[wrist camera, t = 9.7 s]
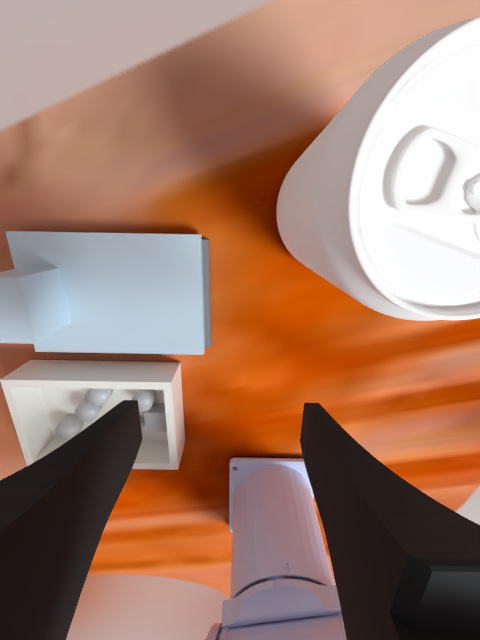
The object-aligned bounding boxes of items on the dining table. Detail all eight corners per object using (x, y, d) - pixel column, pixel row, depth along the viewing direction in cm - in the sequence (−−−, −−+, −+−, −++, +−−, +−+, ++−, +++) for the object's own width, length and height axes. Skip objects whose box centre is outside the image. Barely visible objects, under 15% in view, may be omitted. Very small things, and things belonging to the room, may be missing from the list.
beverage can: (370, 282, 20) (540, 360, 9) (261, 256, 19) (290, 303, 8) (419, 158, 17) (758, 32, 6) (295, 124, 17) (408, -87, 5)
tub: (185, 441, 25) (178, 469, 22) (51, 439, 25) (27, 467, 22) (180, 362, 22) (171, 382, 19) (30, 359, 22) (-1, 379, 19)
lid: (205, 350, 21) (196, 379, 17) (42, 347, 21) (-4, 376, 17) (201, 234, 18) (190, 237, 14) (14, 231, 18) (-50, 233, 14)
